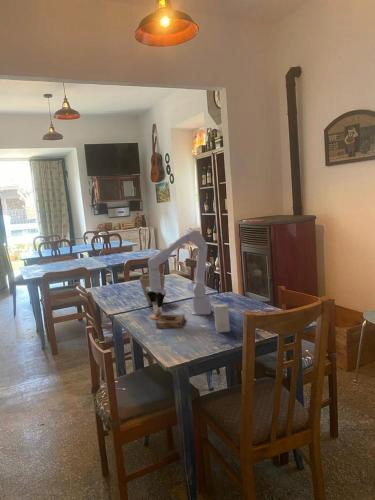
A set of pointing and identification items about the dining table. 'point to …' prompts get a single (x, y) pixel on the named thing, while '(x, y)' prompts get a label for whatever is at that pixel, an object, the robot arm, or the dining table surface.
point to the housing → (170, 321)
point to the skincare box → (221, 318)
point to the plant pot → (146, 283)
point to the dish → (155, 316)
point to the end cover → (156, 308)
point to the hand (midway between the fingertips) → (157, 305)
